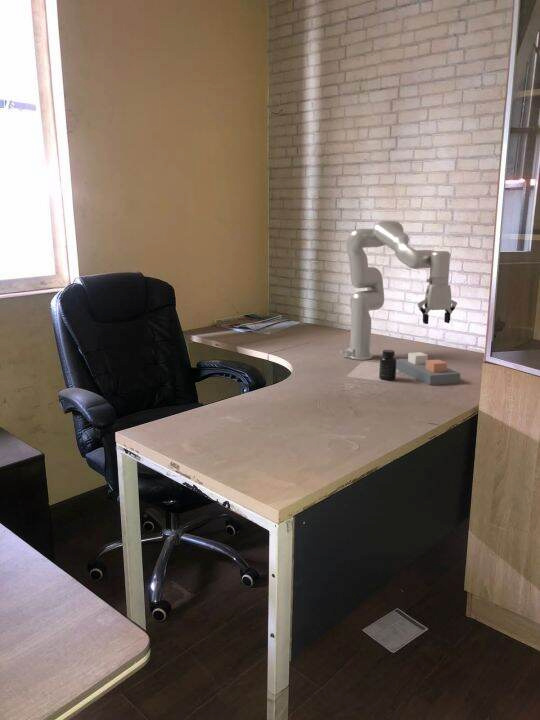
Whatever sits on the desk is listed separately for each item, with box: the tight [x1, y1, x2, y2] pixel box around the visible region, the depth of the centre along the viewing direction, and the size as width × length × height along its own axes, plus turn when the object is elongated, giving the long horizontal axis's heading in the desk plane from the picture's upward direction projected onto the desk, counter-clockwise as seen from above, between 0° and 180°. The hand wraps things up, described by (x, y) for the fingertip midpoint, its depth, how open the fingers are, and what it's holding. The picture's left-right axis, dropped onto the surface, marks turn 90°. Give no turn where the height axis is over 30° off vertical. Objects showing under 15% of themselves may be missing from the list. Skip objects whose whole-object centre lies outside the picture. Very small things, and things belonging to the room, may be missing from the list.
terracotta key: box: [425, 359, 448, 373], centre depth 240 cm, size 6×6×5 cm
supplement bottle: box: [378, 349, 397, 382], centre depth 240 cm, size 7×7×12 cm
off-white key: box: [407, 351, 429, 364], centre depth 253 cm, size 6×6×5 cm
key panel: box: [396, 358, 461, 386], centre depth 247 cm, size 14×28×4 cm, turn 18°
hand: (436, 323), depth 240 cm, fingers open, 9 cm apart
